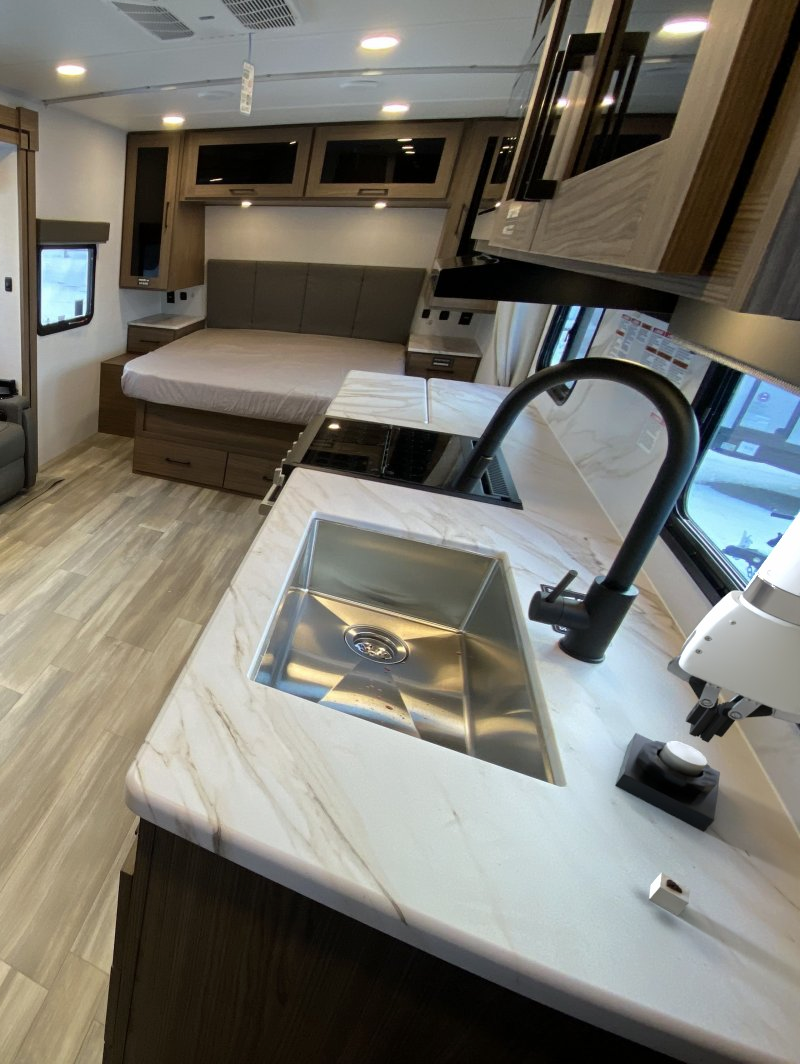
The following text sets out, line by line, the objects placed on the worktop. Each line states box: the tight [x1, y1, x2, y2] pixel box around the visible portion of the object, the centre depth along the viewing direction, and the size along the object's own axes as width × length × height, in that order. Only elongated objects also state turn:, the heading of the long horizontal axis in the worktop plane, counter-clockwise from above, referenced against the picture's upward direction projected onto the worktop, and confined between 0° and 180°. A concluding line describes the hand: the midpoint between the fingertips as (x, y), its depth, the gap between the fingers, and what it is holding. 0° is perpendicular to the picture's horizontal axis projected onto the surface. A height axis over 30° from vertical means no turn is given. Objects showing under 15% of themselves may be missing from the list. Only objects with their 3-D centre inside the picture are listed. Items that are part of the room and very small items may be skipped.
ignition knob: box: [659, 740, 709, 777], centre depth 69 cm, size 4×4×2 cm
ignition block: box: [614, 732, 721, 833], centre depth 70 cm, size 10×8×4 cm
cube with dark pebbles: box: [648, 872, 691, 917], centre depth 58 cm, size 2×2×2 cm
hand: (699, 732), depth 67 cm, fingers closed
